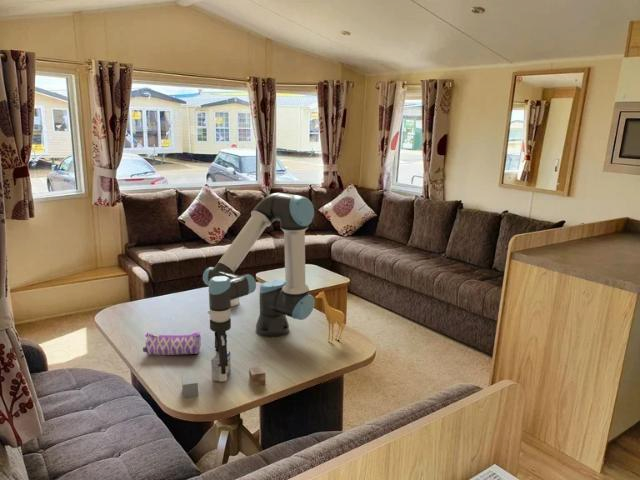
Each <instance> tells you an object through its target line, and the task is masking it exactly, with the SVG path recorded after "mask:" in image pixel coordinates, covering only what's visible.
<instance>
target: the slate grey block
mask: <svg viewBox="0 0 640 480" xmlns="http://www.w3.org/2000/svg"><path fill="white" fill-rule="evenodd" d="M181 383H182V387H181V388H182V396H183V398H190V397H191V398H192V397H196V396H199V382H198V376H197V375H189V376H185V377H184V376H183V377H181Z"/></svg>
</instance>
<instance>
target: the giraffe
mask: <svg viewBox="0 0 640 480" xmlns="http://www.w3.org/2000/svg"><path fill="white" fill-rule="evenodd" d="M314 299H321V300H322V303H323V308H324V314H325V315H324V316H325V318H326V321H327V324H328V339H327V341H328V340H329V341H330V339H331V341H334V331H335V330H334V328H335V327H334V325H335V324H337V325H338V330H337V334H336V336H335V338H336V337H338V339H340V340H341V338H342V337H341V336H342V334H343V333H342V332H345V325H346V324H345V317H346V316H345V314H344V312H343V311H341V310H339V309H336V308H333V307H331V306H330V304H329V303H328V301H327V298H326V294H325V291H324V290H322V291H320V292H318V295H316V296H315V297H314Z"/></svg>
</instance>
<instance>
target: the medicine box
mask: <svg viewBox="0 0 640 480" xmlns="http://www.w3.org/2000/svg"><path fill="white" fill-rule="evenodd" d="M210 362H211V364H210V365H211V381H215V382H220V381H219V367H218V365H219V364H220V362H219V352H218V353H217V354H216V353H215V356H214V357H213V358H211V361H210ZM227 363H228V366H227V377H228V376H229V374H230V373H231V371H232V369H231V368H232V367H231V366H232V365H231V351H228V350H227ZM223 382H224V381H221V382H220V383H223Z"/></svg>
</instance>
